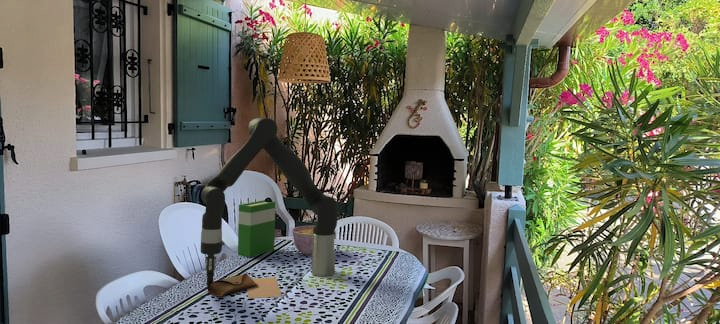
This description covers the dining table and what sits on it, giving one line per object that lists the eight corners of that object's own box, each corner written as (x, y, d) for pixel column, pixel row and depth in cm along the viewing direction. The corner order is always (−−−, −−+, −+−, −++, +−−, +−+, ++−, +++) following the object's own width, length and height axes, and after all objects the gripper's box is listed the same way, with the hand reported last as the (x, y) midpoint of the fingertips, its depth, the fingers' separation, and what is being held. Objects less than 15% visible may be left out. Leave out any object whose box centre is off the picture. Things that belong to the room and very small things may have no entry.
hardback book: (262, 247, 247) (263, 200, 245) (274, 249, 243) (275, 201, 241) (237, 254, 232) (238, 204, 230) (249, 257, 228) (250, 206, 226)
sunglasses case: (221, 296, 175) (215, 278, 177) (210, 302, 179) (205, 284, 181) (260, 284, 189) (254, 268, 191) (250, 290, 193) (244, 274, 195)
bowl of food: (330, 259, 230) (331, 235, 229) (288, 257, 230) (288, 233, 229) (333, 248, 249) (334, 226, 249) (294, 247, 250) (295, 224, 249)
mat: (275, 278, 200) (275, 277, 200) (281, 297, 179) (281, 296, 179) (245, 279, 197) (245, 278, 197) (248, 299, 176) (248, 298, 176)
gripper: (221, 244, 176) (220, 291, 178) (222, 235, 189) (220, 279, 190) (199, 244, 174) (198, 292, 176) (201, 235, 187) (200, 280, 188)
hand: (209, 285), depth 183 cm, fingers closed
